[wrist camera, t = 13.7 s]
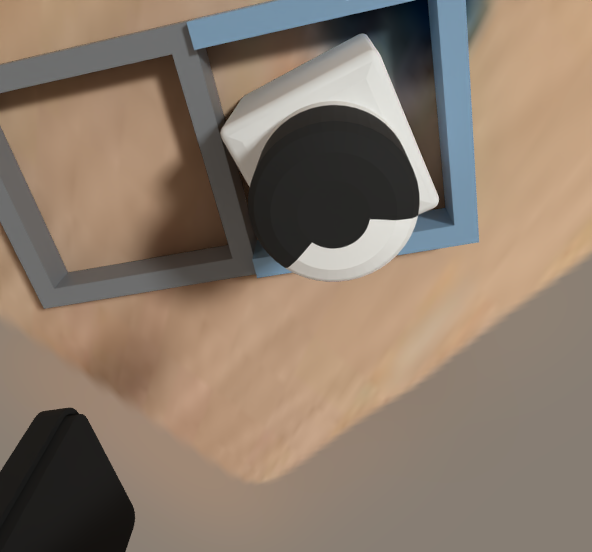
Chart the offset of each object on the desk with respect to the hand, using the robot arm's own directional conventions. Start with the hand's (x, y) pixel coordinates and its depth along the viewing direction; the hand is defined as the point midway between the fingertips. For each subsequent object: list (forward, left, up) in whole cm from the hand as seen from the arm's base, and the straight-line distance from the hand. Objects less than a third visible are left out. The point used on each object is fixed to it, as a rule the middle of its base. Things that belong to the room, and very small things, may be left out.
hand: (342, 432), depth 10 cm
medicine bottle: (0, 0, -22) cm, 22 cm away
